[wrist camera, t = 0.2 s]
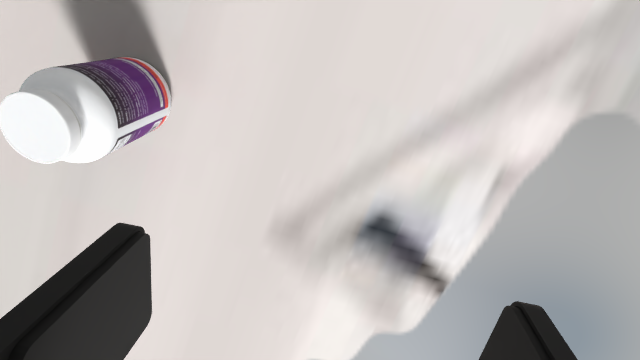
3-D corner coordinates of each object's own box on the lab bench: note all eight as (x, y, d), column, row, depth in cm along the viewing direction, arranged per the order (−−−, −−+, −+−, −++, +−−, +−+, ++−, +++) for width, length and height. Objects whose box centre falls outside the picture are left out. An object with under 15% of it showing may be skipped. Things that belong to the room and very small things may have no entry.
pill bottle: (108, 44, 38) (-24, 54, 25) (181, 72, 38) (90, 95, 25) (101, 115, 41) (-19, 157, 28) (168, 140, 42) (81, 192, 28)
